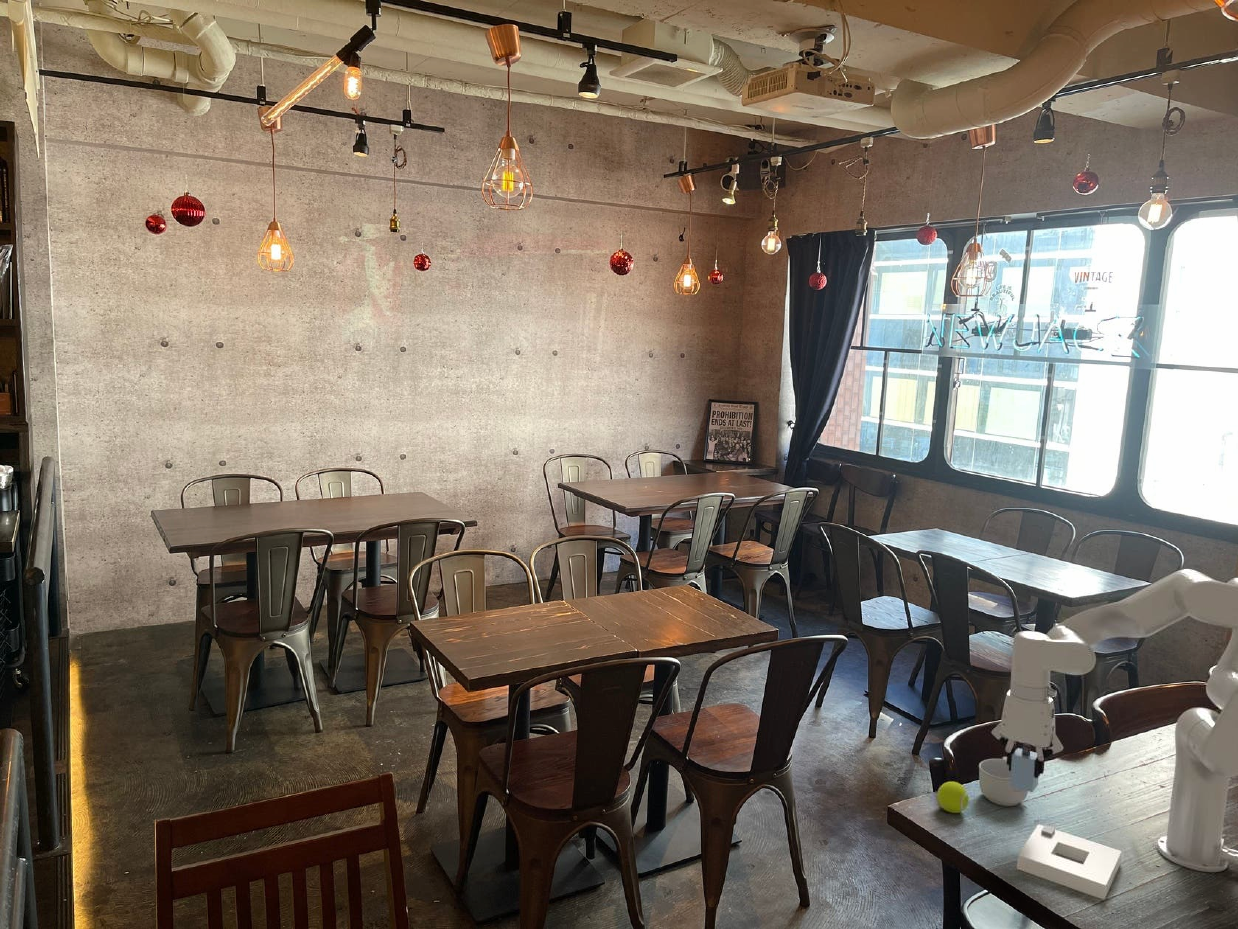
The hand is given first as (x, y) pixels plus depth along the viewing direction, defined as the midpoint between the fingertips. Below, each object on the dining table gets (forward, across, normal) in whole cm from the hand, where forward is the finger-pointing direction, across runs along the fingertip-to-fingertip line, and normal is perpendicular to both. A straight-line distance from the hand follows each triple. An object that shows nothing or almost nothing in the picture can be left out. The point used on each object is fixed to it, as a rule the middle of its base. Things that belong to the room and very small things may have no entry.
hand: (1024, 771), depth 197 cm
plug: (+3, 0, 0) cm, 3 cm away
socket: (+15, -11, +6) cm, 19 cm away
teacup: (+15, +8, -15) cm, 23 cm away
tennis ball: (+14, +15, 0) cm, 21 cm away
